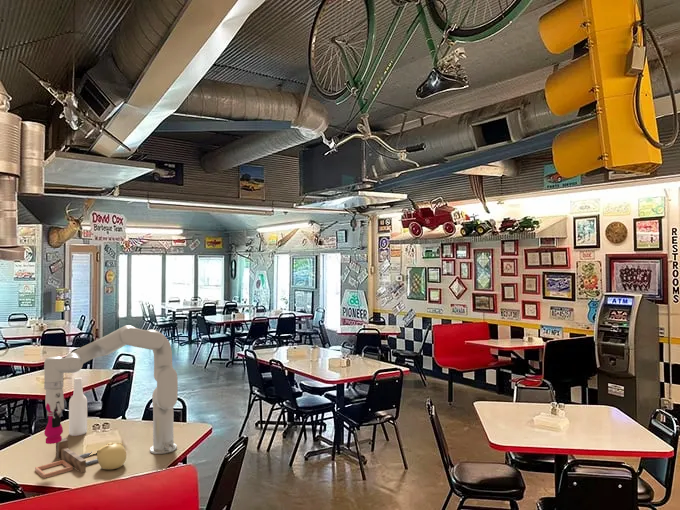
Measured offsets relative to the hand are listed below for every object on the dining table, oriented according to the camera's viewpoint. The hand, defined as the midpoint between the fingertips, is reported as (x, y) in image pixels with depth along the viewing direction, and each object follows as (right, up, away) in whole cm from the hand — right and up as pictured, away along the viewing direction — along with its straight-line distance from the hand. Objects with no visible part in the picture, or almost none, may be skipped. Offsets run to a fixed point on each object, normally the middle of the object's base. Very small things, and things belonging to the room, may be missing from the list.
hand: (53, 424), depth 224 cm
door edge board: (+4, -20, +7) cm, 22 cm away
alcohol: (-14, -21, +48) cm, 54 cm away
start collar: (+11, -20, +12) cm, 26 cm away
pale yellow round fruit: (+25, -20, +3) cm, 32 cm away
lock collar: (0, -20, 0) cm, 20 cm away
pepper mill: (0, -8, 0) cm, 8 cm away
